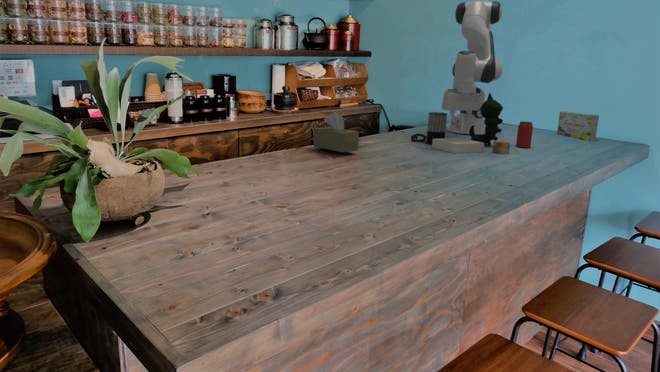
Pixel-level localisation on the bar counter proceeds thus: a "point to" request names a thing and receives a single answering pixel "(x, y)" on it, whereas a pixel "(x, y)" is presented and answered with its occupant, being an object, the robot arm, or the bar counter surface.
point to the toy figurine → (489, 121)
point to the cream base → (458, 145)
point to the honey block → (501, 147)
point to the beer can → (524, 134)
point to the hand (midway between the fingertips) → (460, 120)
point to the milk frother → (433, 128)
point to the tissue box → (336, 135)
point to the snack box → (578, 125)
